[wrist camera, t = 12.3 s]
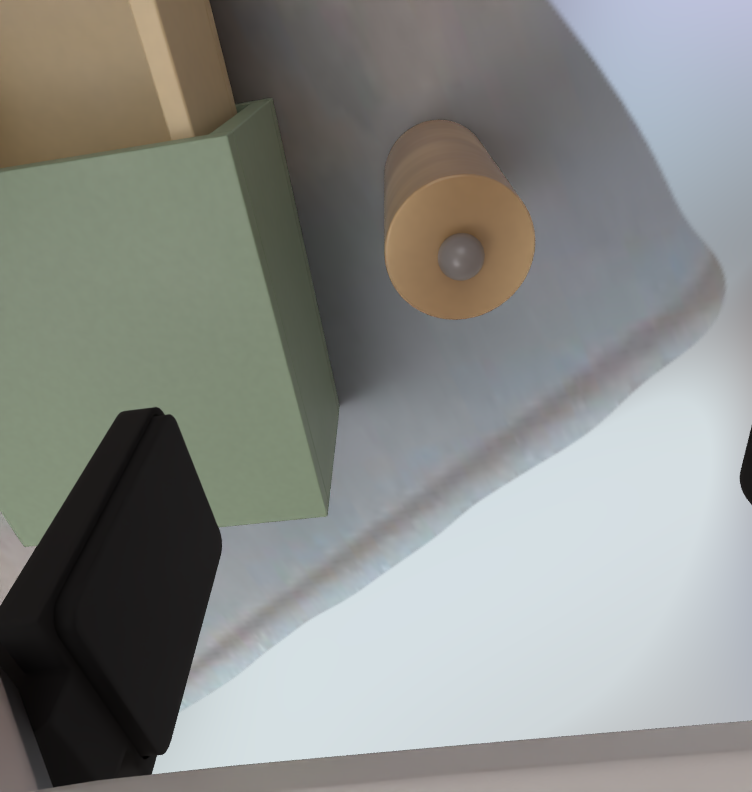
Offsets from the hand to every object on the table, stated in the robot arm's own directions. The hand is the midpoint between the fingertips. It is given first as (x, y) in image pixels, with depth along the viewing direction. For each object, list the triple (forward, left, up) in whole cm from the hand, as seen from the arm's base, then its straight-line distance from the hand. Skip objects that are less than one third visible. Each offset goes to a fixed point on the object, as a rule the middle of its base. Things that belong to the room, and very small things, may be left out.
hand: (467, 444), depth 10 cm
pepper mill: (+1, 0, -20) cm, 20 cm away
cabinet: (-11, -7, -20) cm, 24 cm away
